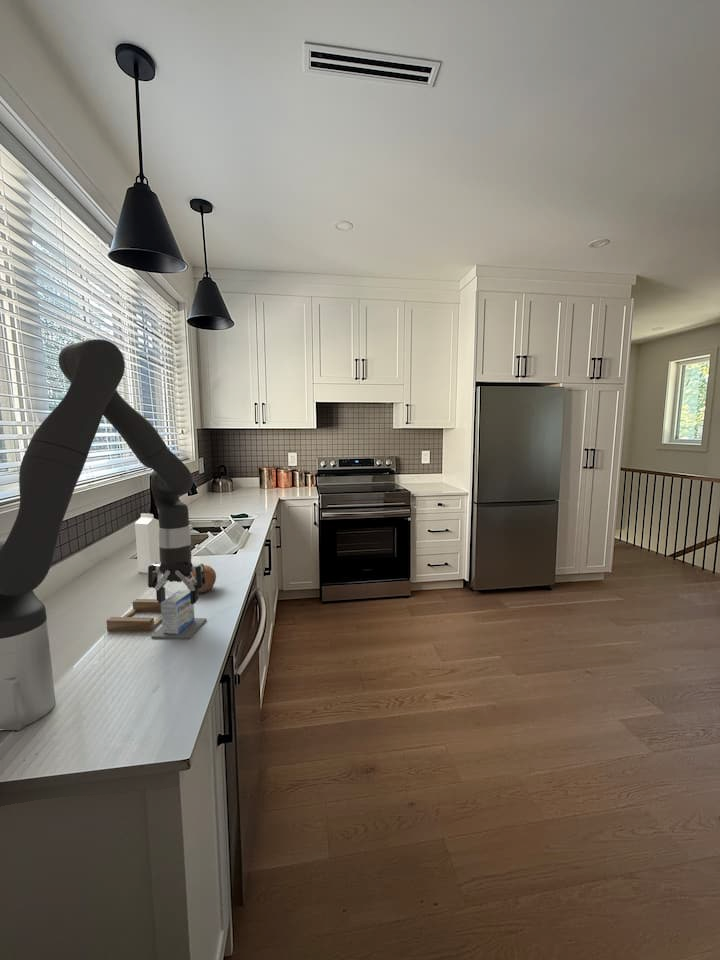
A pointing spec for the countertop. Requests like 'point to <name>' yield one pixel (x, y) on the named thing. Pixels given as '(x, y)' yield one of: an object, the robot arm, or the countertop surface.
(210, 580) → the onion
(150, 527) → the milk
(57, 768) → the countertop surface
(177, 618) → the medicine box
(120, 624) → the frame
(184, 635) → the mat
